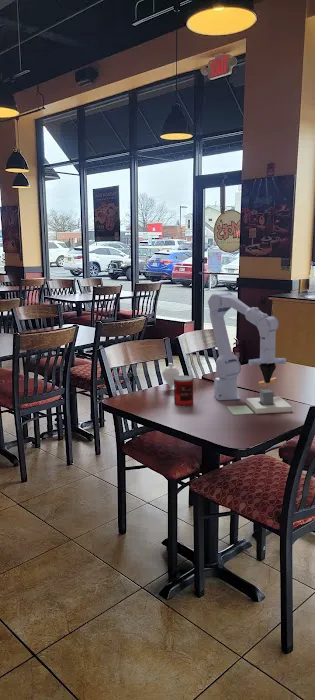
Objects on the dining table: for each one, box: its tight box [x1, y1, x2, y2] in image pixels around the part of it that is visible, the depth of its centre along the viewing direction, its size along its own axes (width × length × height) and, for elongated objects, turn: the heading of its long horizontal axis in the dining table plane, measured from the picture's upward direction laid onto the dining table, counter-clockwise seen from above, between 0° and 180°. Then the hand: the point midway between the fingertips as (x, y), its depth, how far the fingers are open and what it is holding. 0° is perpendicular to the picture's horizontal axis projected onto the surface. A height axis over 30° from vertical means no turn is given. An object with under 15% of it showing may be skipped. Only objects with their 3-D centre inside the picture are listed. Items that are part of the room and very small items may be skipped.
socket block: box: [245, 386, 293, 415], centre depth 203 cm, size 14×14×7 cm
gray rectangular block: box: [259, 389, 274, 406], centre depth 202 cm, size 4×4×7 cm
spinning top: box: [162, 362, 180, 390], centre depth 232 cm, size 8×8×12 cm
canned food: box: [173, 375, 194, 407], centre depth 210 cm, size 8×8×11 cm
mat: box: [226, 405, 255, 416], centre depth 200 cm, size 8×10×1 cm
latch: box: [258, 376, 278, 388], centre depth 210 cm, size 11×2×2 cm, turn 134°
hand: (267, 382), depth 200 cm, fingers closed
